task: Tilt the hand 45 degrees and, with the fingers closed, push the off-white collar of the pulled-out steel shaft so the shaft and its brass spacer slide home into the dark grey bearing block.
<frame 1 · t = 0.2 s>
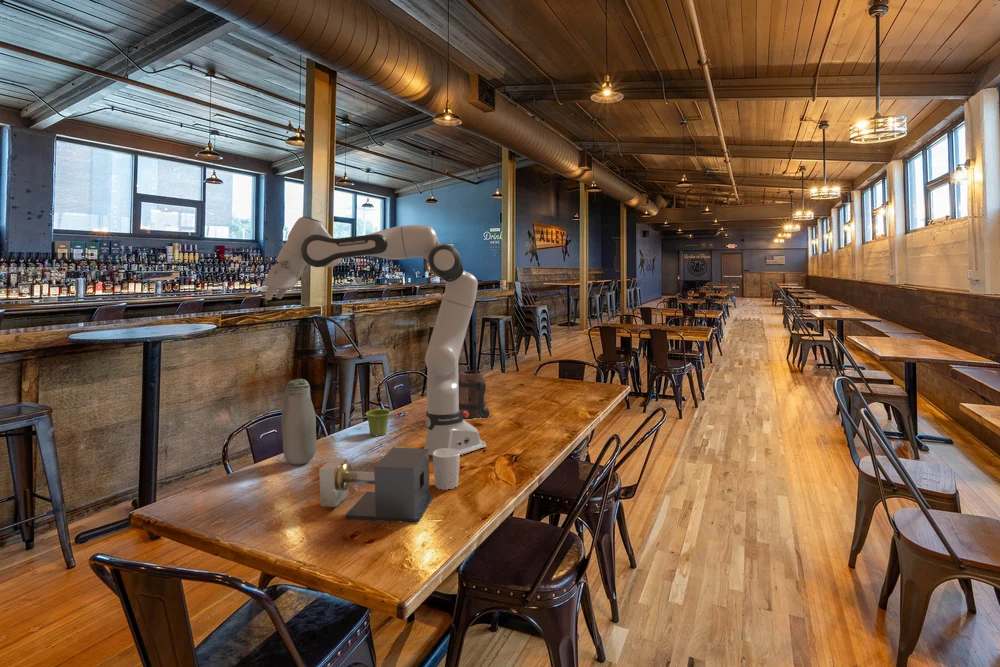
hand: (272, 298, 164), 54 cm above the table, tool tilted 30°, fingers open, 8 cm apart
tankard: (474, 418, 216), on the table
glass bottle: (300, 463, 163), on the table
plant pot: (378, 434, 193), on the table
shaft: (366, 483, 130), point 6 cm above the table, slide at 10.0 cm
white cup: (446, 486, 144), on the table
bearing block: (385, 507, 130), on the table
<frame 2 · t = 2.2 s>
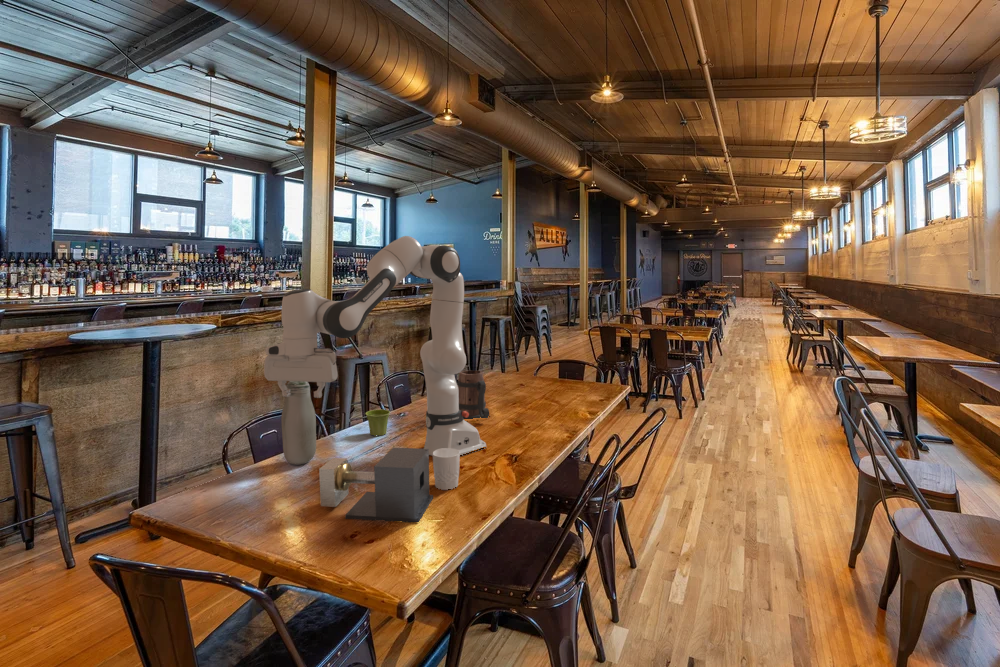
hand: (302, 396, 138), 27 cm above the table, tool pointing down, fingers open, 8 cm apart
nothing on the table moved.
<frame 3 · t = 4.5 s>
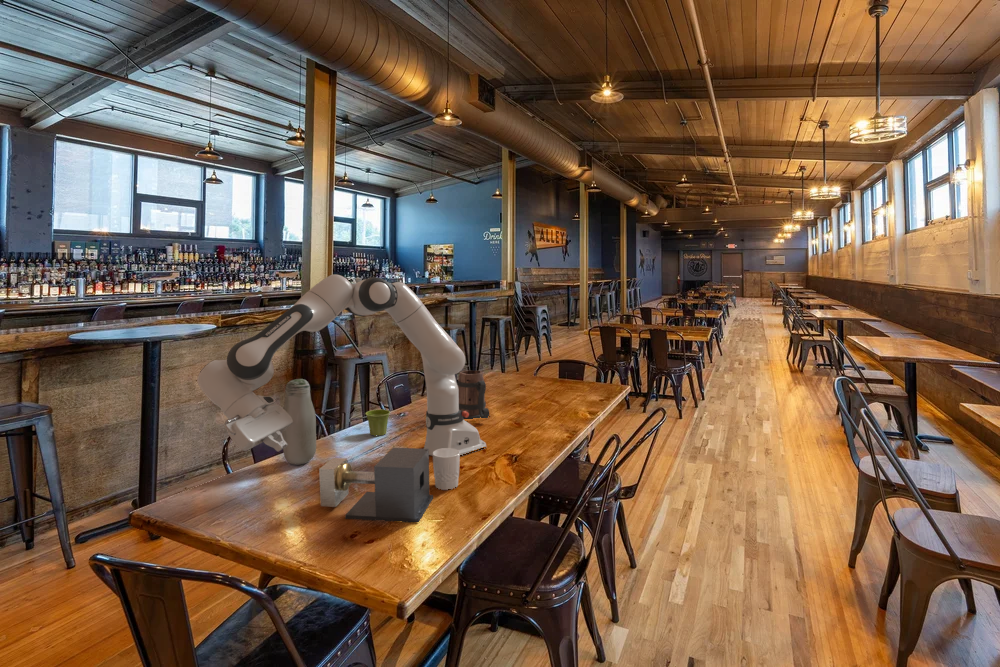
hand: (283, 448, 132), 15 cm above the table, tool tilted 45°, fingers closed
nothing on the table moved.
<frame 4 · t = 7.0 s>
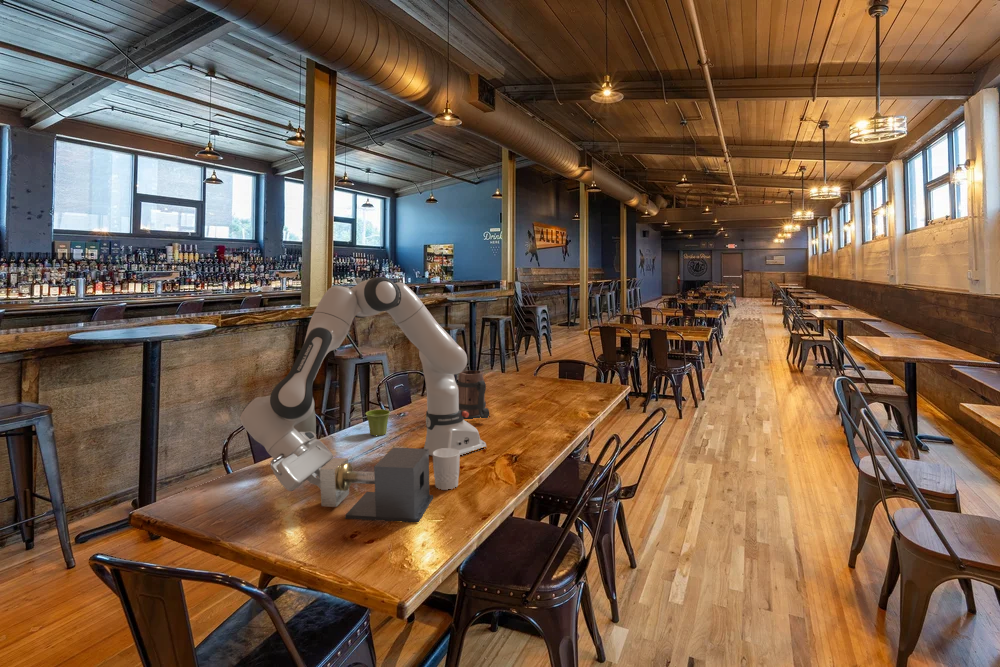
hand: (326, 485, 132), 5 cm above the table, tool tilted 45°, fingers closed, pressing on shaft
shaft: (367, 483, 130), point 6 cm above the table, slide at 9.8 cm, touching gripper
everything else where it was.
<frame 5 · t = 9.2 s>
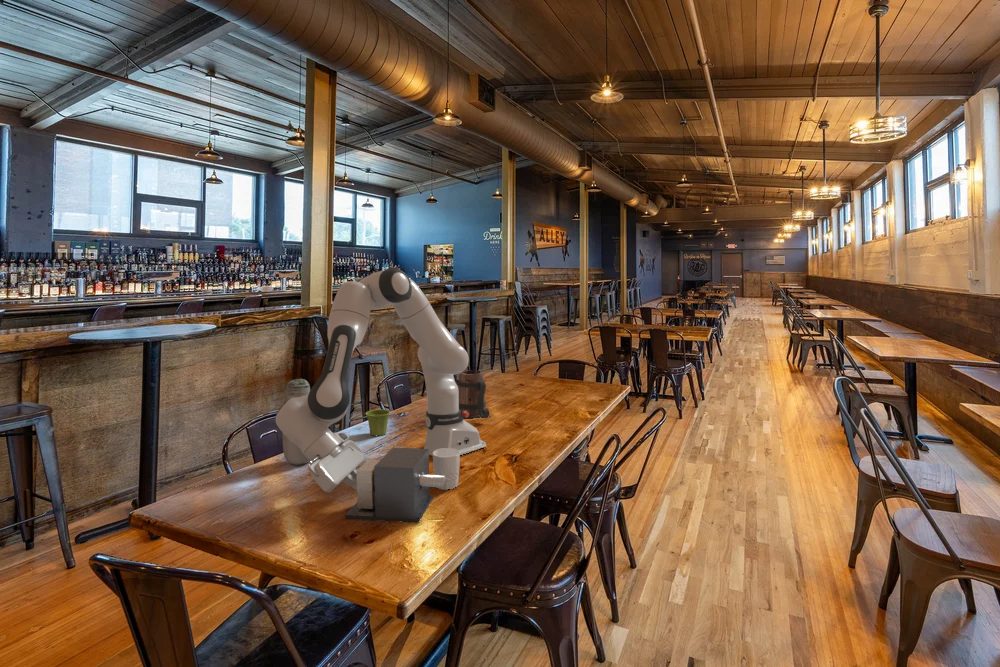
hand: (361, 487, 130), 5 cm above the table, tool tilted 45°, fingers closed, pressing on shaft
shaft: (403, 485, 129), point 6 cm above the table, slide at 0.0 cm, touching gripper
everything else where it was.
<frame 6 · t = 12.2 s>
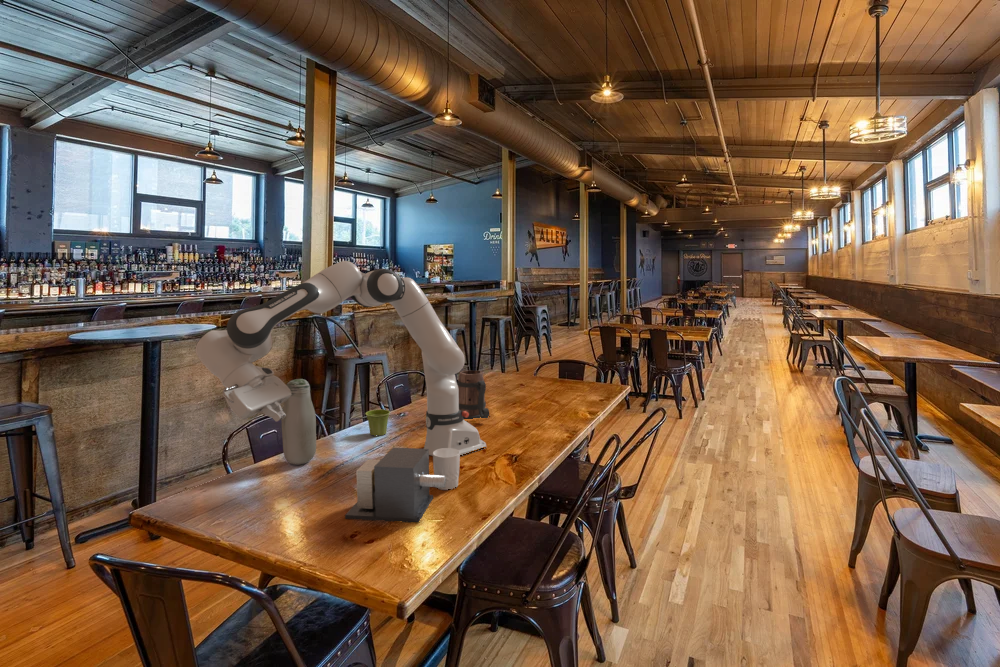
hand: (281, 418, 131), 23 cm above the table, tool tilted 45°, fingers closed
shaft: (403, 485, 129), point 6 cm above the table, slide at 0.0 cm
everything else where it was.
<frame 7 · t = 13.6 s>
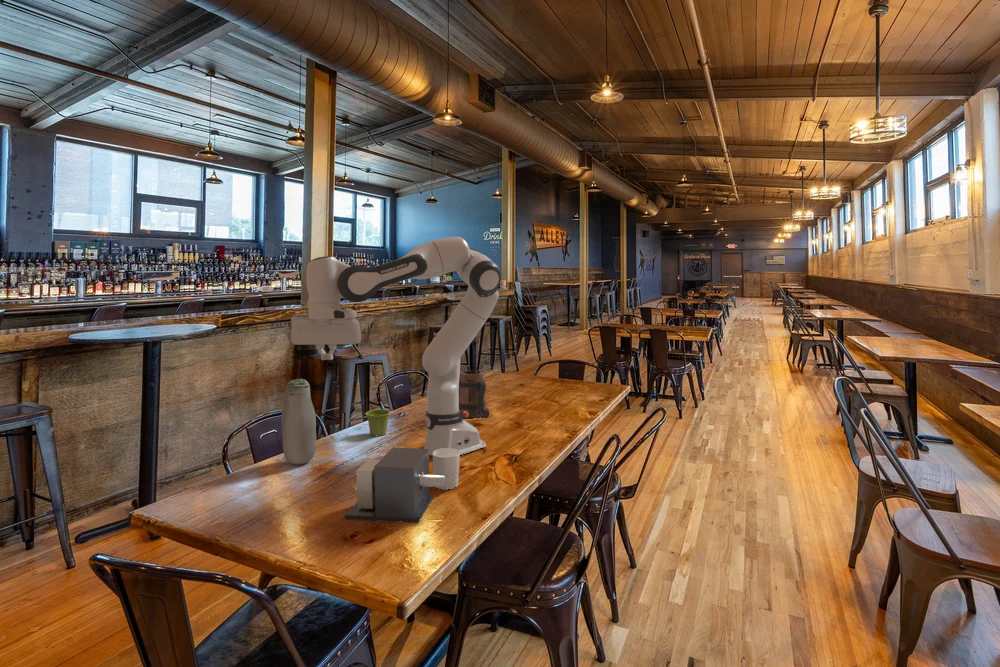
hand: (327, 359, 145), 37 cm above the table, tool pointing down, fingers closed
nothing on the table moved.
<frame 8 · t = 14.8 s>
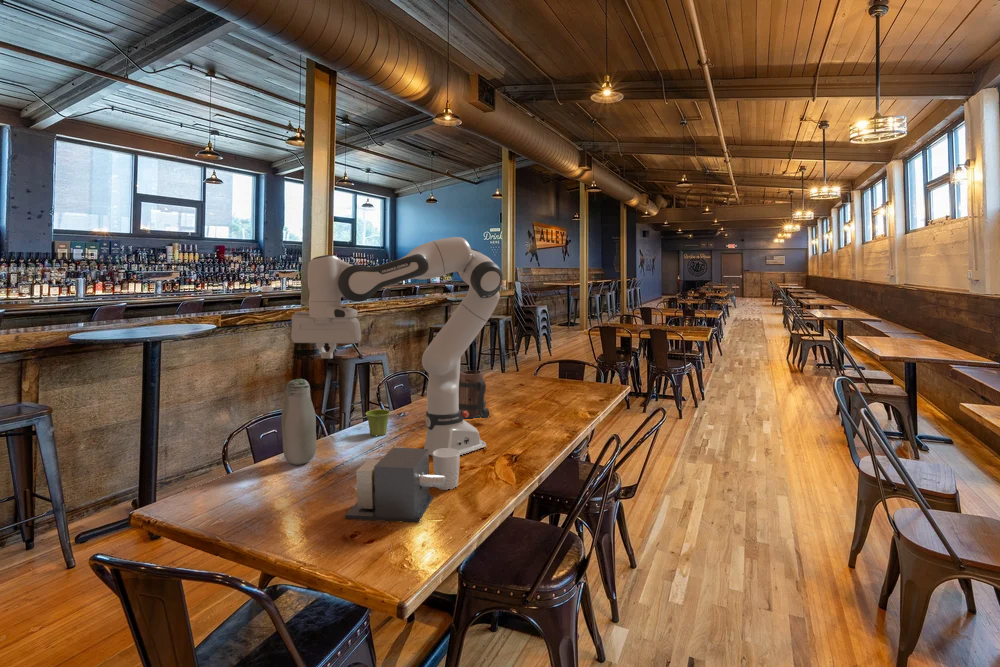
hand: (327, 358, 145), 37 cm above the table, tool pointing down, fingers closed
nothing on the table moved.
at the end: shaft slide at 0.0 cm; white cup moved 0.2 cm from its start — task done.
